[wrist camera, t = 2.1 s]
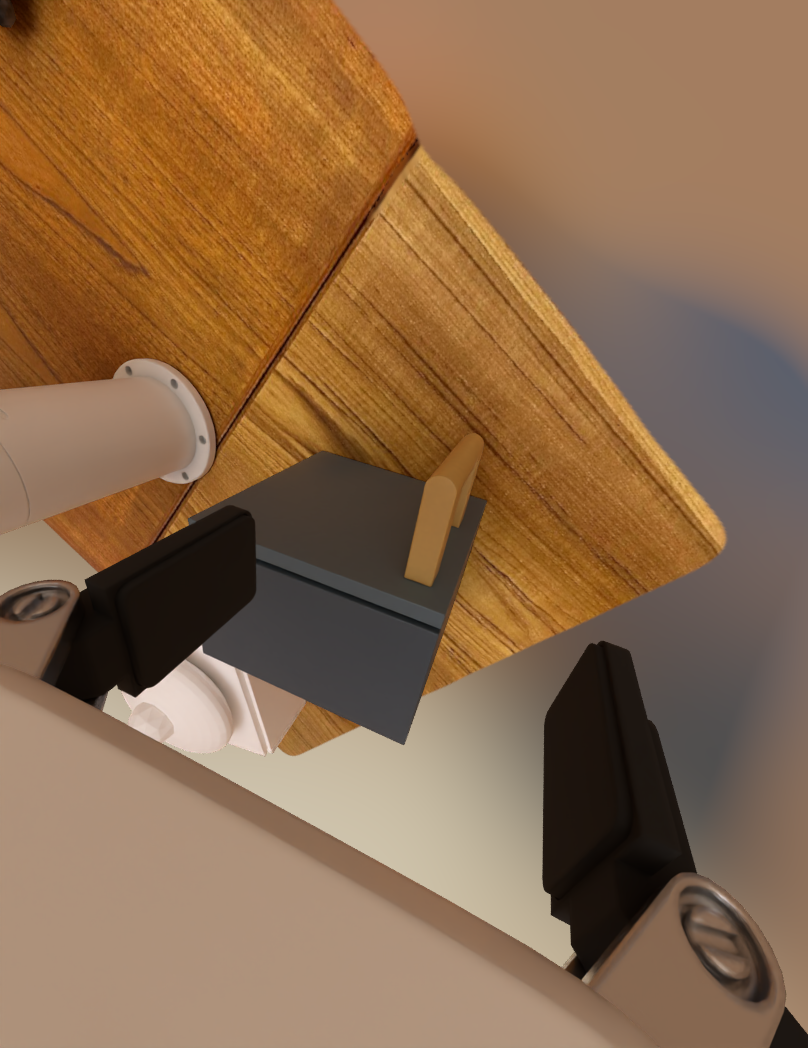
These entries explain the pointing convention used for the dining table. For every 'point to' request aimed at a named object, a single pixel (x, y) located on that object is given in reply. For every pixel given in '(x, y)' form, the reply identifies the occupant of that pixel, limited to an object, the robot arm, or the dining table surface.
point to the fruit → (7, 13)
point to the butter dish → (214, 708)
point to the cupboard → (332, 649)
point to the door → (370, 527)
